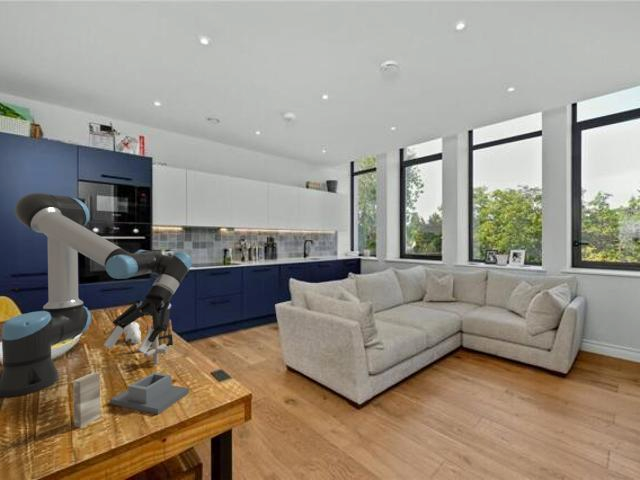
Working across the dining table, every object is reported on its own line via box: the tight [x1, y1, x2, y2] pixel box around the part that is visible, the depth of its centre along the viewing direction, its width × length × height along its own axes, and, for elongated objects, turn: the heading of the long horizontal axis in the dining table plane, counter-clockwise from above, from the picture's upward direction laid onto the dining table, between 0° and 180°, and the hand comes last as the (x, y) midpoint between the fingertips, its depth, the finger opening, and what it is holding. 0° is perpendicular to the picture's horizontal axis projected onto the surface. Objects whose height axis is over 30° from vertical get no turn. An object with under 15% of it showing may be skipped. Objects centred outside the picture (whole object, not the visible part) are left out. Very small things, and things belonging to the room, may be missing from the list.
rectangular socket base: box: [109, 371, 190, 415], centre depth 93 cm, size 18×12×6 cm, turn 72°
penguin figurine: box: [123, 321, 142, 345], centre depth 142 cm, size 6×8×12 cm
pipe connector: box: [143, 337, 169, 365], centre depth 118 cm, size 10×10×10 cm
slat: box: [72, 372, 101, 429], centre depth 81 cm, size 2×5×12 cm, turn 163°
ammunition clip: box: [145, 318, 174, 347], centre depth 134 cm, size 11×2×12 cm, turn 133°
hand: (123, 349), depth 91 cm, fingers open, 13 cm apart
